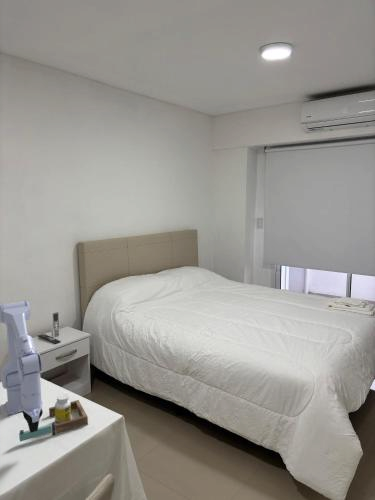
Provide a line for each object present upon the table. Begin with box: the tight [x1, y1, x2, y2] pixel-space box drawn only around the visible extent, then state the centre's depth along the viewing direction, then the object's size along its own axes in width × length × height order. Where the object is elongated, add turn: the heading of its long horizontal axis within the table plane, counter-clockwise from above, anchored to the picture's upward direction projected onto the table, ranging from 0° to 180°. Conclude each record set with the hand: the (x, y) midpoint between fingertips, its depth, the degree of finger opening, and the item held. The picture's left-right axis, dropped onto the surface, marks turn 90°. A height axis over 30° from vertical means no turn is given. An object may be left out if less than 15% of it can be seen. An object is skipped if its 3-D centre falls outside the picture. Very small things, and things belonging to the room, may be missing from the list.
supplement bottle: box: [54, 393, 72, 424], centre depth 137 cm, size 5×5×10 cm
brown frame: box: [48, 399, 89, 436], centre depth 138 cm, size 13×12×4 cm
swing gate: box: [18, 423, 52, 442], centre depth 127 cm, size 10×1×3 cm, turn 119°
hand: (33, 430), depth 121 cm, fingers closed
